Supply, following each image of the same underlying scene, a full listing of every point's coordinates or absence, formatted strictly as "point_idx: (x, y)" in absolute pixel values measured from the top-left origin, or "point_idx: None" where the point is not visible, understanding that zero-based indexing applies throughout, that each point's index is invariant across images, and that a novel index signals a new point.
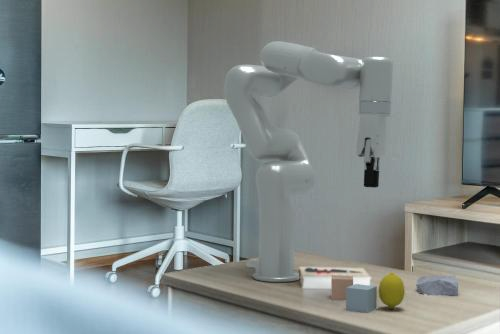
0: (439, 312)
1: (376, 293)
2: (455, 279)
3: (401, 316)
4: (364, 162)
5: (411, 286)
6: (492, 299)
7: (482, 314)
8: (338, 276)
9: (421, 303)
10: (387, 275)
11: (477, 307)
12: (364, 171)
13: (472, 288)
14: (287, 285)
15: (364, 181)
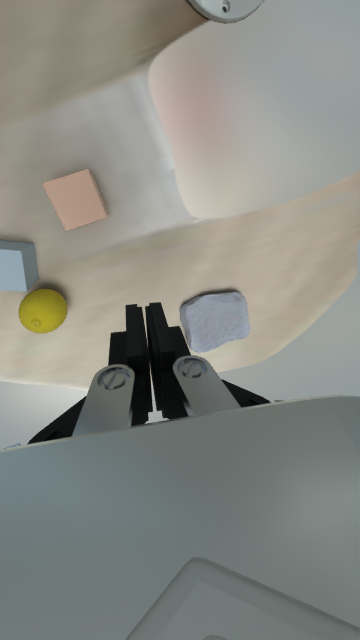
0: (74, 353)
1: (30, 287)
2: (202, 351)
3: (13, 323)
4: (79, 417)
5: (233, 277)
6: None
7: None
8: (81, 189)
9: (117, 321)
10: (29, 316)
11: None
12: (127, 350)
13: (244, 345)
14: (147, 12)
15: (127, 318)
